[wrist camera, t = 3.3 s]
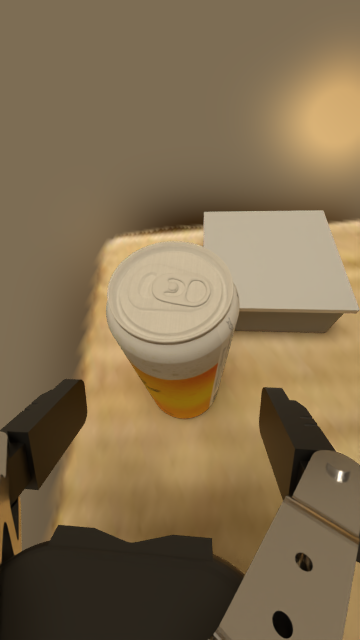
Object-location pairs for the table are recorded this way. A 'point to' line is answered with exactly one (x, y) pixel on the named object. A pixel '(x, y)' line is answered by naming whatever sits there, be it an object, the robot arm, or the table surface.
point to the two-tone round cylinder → (175, 322)
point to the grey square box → (282, 269)
